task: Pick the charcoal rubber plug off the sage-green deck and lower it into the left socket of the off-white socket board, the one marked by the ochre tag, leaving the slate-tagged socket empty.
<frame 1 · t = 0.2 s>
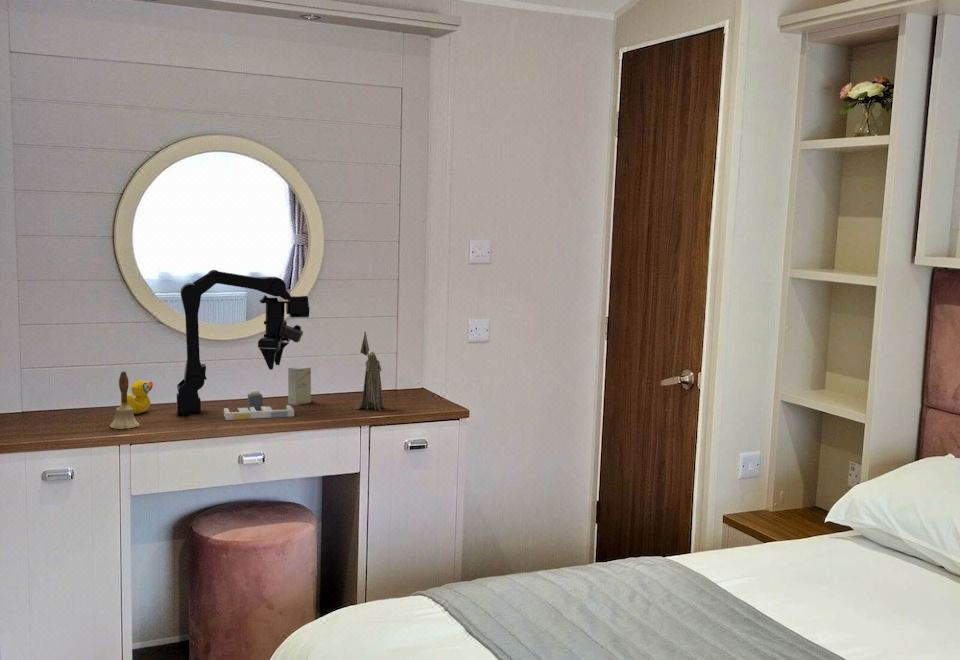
hand: (274, 367, 296), 14 cm above the table, tool pointing down, fingers open, 9 cm apart
wizard figurine: (369, 409, 301), on the table
deck: (255, 411, 294), on the table
skincare box: (299, 405, 306), on the table
hand bell: (124, 427, 270), on the table
duckling: (138, 413, 289), on the table
socket board: (259, 417, 285), on the table
plug: (255, 409, 294), point 1 cm above the table, touching deck
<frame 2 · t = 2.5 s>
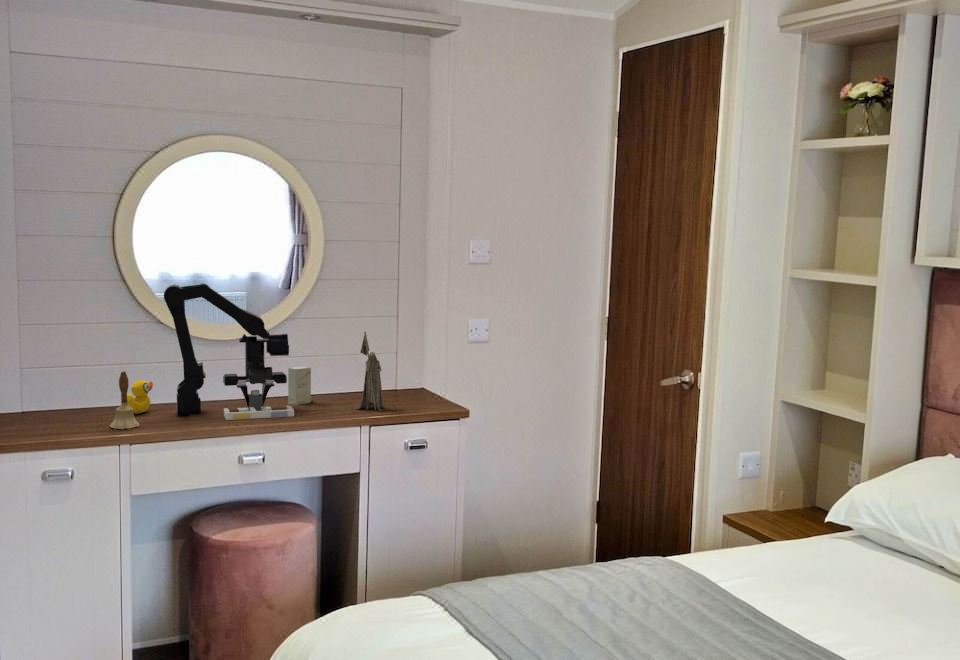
hand: (255, 406, 294), 2 cm above the table, tool pointing down, fingers closed on plug, 4 cm apart
plug: (255, 409, 294), point 1 cm above the table, touching deck, gripper
everything else where it was.
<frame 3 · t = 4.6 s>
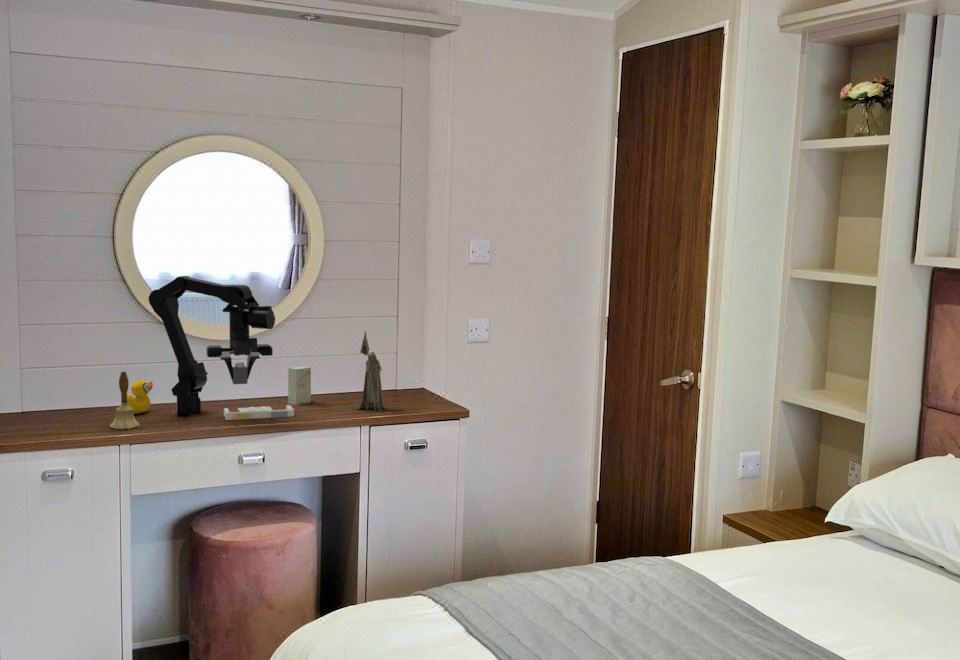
hand: (239, 379, 283), 12 cm above the table, tool pointing down, fingers closed on plug, 4 cm apart
plug: (239, 382, 284), point 11 cm above the table, touching gripper
everything else where it was.
when the fingers open (3 cm above the table, at t = 6.9 s): plug drops 2 cm, on the table.
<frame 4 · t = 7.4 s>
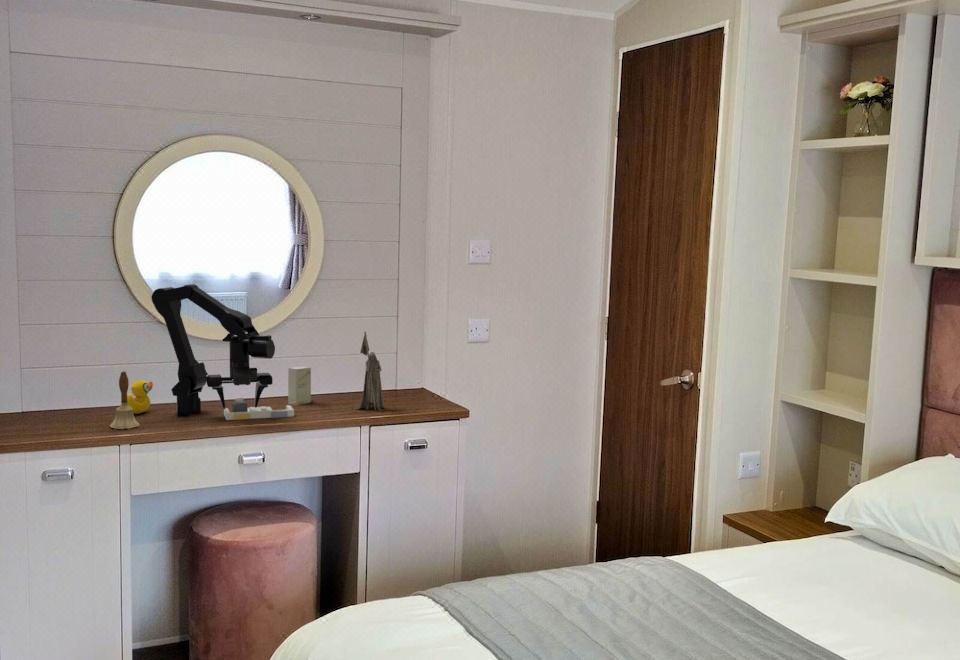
hand: (239, 408, 284), 3 cm above the table, tool pointing down, fingers open, 9 cm apart
plug: (239, 418, 285), on the table
everything else where it was.
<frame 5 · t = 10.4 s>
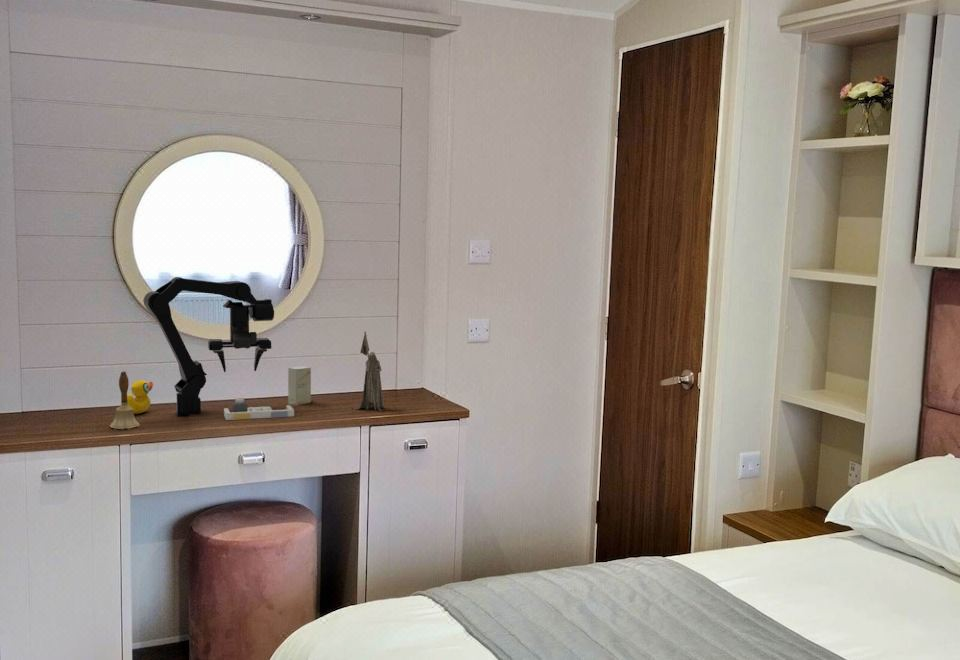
hand: (240, 371, 296), 12 cm above the table, tool pointing down, fingers open, 9 cm apart
nothing on the table moved.
at the end: plug 0.3 cm from the target spot, on the table; plug tilted 0°; the gripper is holding nothing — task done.
